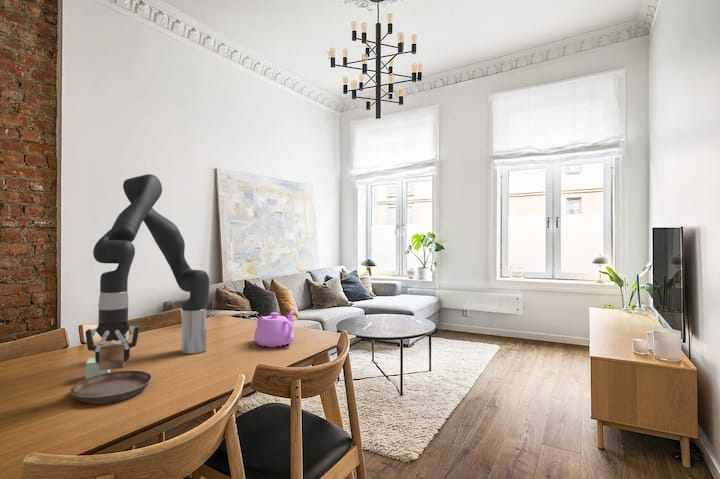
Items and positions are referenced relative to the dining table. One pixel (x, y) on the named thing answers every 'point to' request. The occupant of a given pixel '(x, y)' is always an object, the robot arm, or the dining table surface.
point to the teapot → (274, 330)
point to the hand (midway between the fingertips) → (112, 362)
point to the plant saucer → (111, 386)
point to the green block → (93, 368)
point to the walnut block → (111, 356)
